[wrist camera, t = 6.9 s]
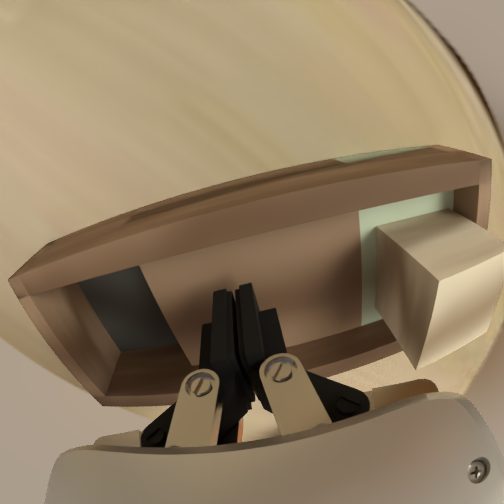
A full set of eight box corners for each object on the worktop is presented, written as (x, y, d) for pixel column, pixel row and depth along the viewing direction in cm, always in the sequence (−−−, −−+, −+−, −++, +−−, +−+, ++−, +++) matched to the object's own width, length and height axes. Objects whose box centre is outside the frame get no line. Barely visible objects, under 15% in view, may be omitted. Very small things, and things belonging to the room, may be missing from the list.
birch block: (375, 225, 12) (439, 281, 7) (448, 208, 12) (512, 247, 7) (374, 306, 14) (415, 370, 10) (439, 282, 14) (486, 331, 9)
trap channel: (47, 243, 13) (7, 279, 9) (438, 145, 13) (491, 158, 8) (117, 360, 18) (102, 406, 14) (432, 284, 17) (466, 319, 13)
